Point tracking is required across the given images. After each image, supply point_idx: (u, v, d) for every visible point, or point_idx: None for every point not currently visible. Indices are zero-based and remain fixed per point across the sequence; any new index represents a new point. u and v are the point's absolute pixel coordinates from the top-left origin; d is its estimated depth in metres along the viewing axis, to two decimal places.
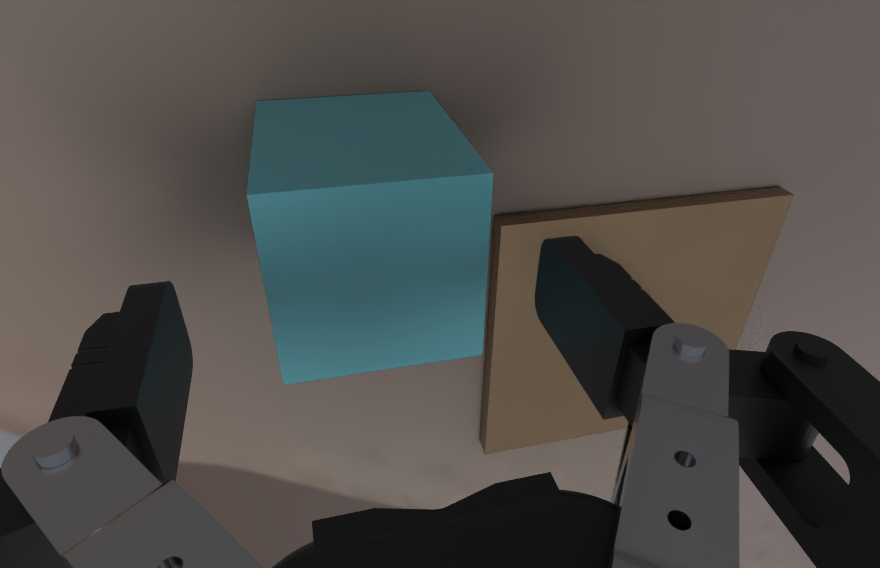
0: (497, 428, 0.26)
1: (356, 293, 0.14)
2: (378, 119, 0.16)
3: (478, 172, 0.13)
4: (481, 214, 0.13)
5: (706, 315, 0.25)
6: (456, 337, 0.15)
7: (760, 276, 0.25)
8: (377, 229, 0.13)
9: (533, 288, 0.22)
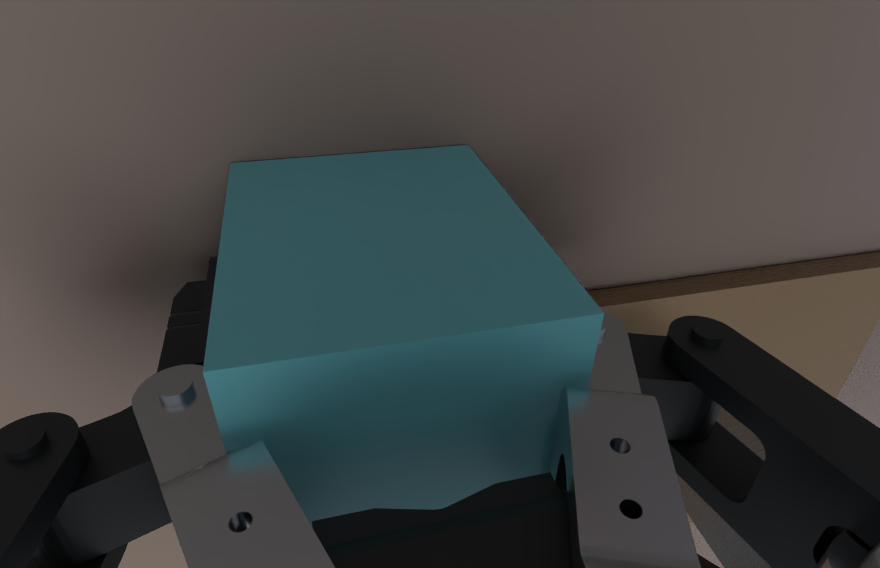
0: None
1: (380, 485, 0.09)
2: (405, 197, 0.11)
3: (578, 310, 0.08)
4: (578, 369, 0.08)
5: None
6: None
7: (856, 356, 0.20)
8: (418, 401, 0.08)
9: None
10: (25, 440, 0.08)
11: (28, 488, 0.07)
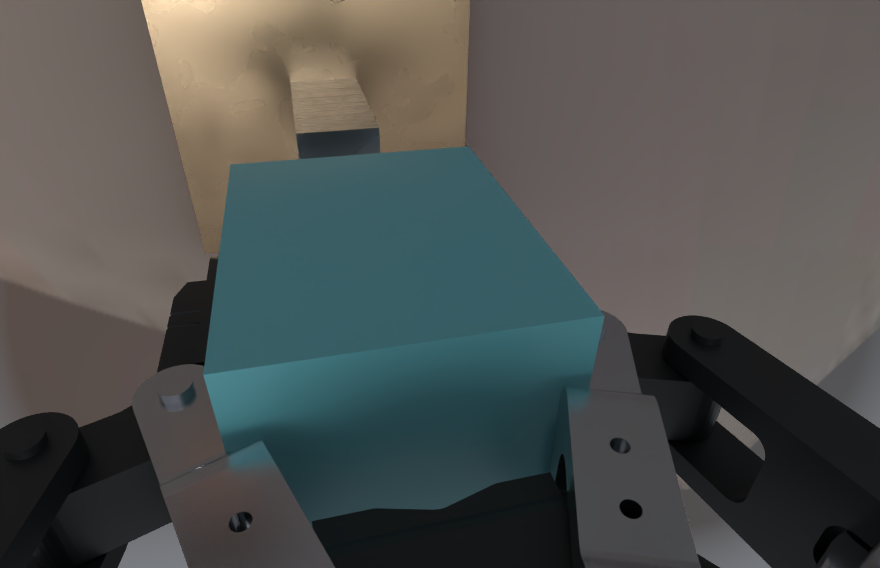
0: (209, 220, 0.25)
1: (381, 487, 0.09)
2: (406, 199, 0.11)
3: (578, 312, 0.08)
4: (578, 372, 0.08)
5: (416, 95, 0.24)
6: None
7: (464, 49, 0.24)
8: (418, 403, 0.08)
9: (194, 34, 0.21)
10: (26, 440, 0.08)
11: (28, 488, 0.07)
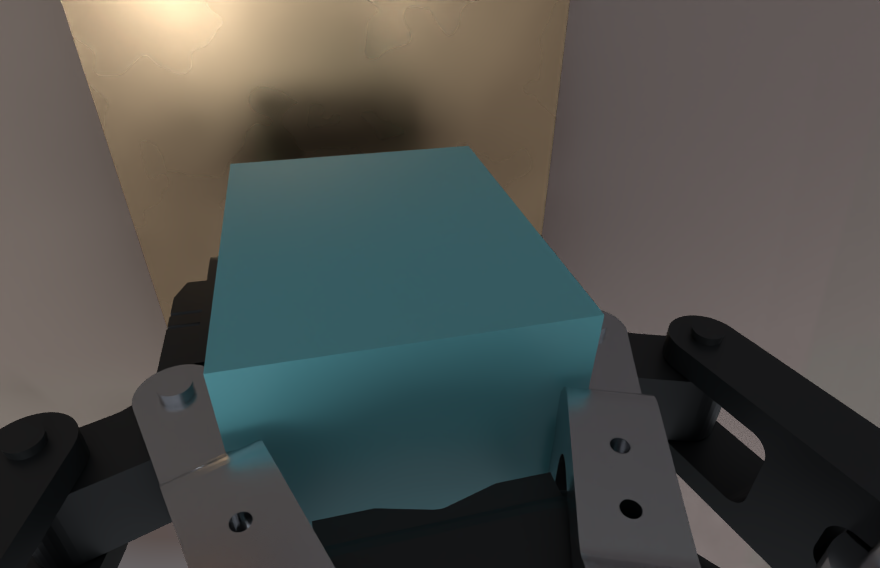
0: None
1: (380, 486, 0.09)
2: (406, 199, 0.11)
3: (578, 311, 0.08)
4: (578, 371, 0.08)
5: None
6: None
7: (551, 115, 0.17)
8: (418, 403, 0.08)
9: (162, 105, 0.14)
10: (26, 439, 0.08)
11: (28, 488, 0.07)
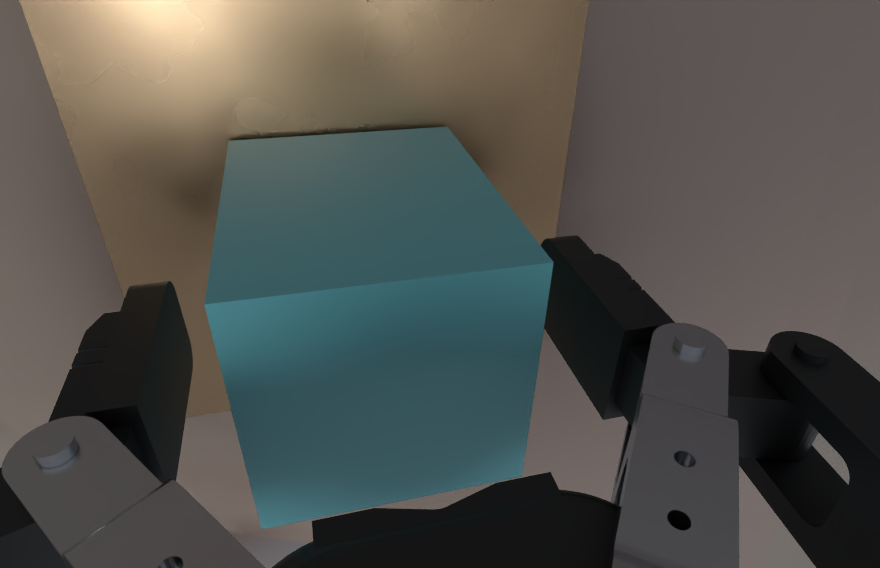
0: None
1: (360, 418, 0.10)
2: (387, 170, 0.12)
3: (531, 260, 0.09)
4: (533, 314, 0.10)
5: None
6: (489, 459, 0.11)
7: (566, 129, 0.15)
8: (391, 339, 0.09)
9: (137, 118, 0.13)
10: None
11: None
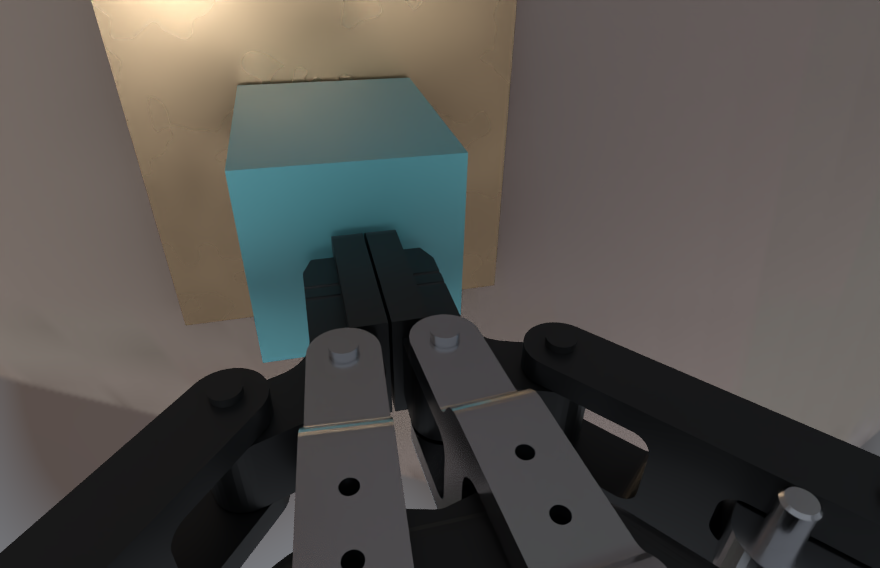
0: (190, 287, 0.21)
1: None
2: (357, 103, 0.16)
3: (453, 152, 0.13)
4: (456, 193, 0.13)
5: None
6: None
7: (506, 82, 0.19)
8: (354, 207, 0.13)
9: (167, 66, 0.17)
10: (226, 391, 0.08)
11: (241, 431, 0.08)
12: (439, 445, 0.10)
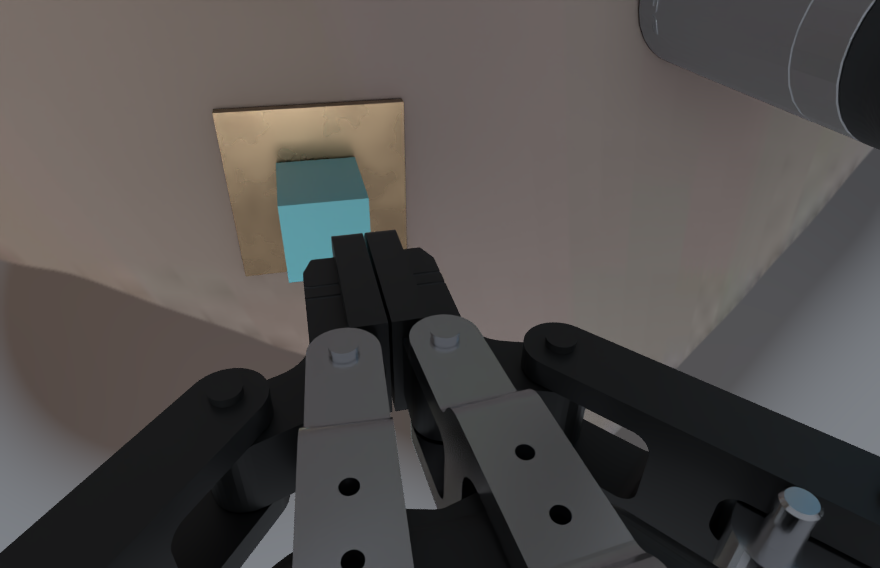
0: (249, 256, 0.42)
1: (317, 244, 0.35)
2: (329, 173, 0.37)
3: (363, 197, 0.34)
4: (365, 213, 0.34)
5: (374, 182, 0.41)
6: None
7: (402, 157, 0.40)
8: (325, 219, 0.34)
9: (245, 155, 0.38)
10: (226, 391, 0.08)
11: (241, 431, 0.08)
12: (439, 445, 0.10)
